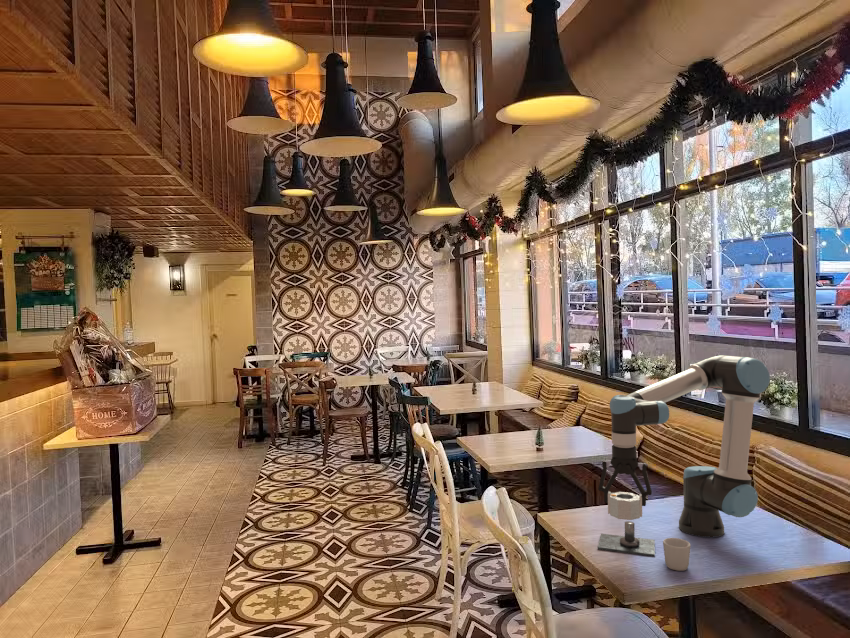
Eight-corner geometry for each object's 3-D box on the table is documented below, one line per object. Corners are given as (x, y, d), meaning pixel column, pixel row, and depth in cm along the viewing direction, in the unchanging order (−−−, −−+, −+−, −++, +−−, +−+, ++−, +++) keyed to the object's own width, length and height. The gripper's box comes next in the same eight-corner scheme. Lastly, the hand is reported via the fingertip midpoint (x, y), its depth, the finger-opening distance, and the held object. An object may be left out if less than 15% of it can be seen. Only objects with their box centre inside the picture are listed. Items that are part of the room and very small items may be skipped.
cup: (654, 559, 193) (654, 534, 193) (678, 558, 194) (677, 533, 193) (671, 574, 182) (670, 548, 182) (695, 572, 183) (695, 546, 183)
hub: (640, 511, 195) (639, 492, 195) (639, 521, 187) (639, 501, 187) (611, 508, 198) (611, 490, 198) (609, 517, 190) (609, 498, 190)
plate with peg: (654, 542, 207) (654, 519, 207) (654, 556, 195) (654, 532, 195) (601, 535, 213) (600, 513, 213) (597, 549, 201) (597, 526, 201)
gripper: (659, 444, 192) (660, 513, 192) (590, 440, 200) (591, 506, 200) (660, 449, 185) (661, 521, 185) (588, 445, 193) (589, 514, 193)
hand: (625, 513), depth 193 cm, fingers closed on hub, 9 cm apart
